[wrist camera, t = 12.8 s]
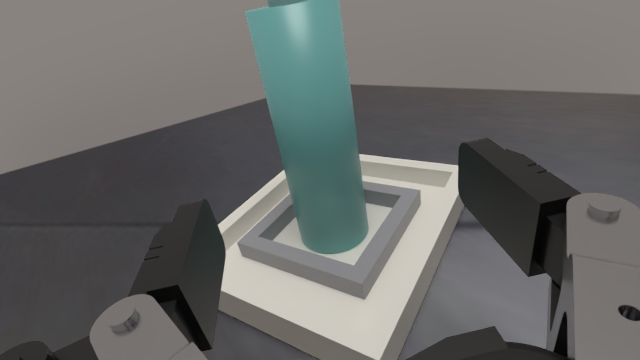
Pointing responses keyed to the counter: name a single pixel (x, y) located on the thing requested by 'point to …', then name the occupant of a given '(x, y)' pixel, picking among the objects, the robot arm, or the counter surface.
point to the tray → (342, 263)
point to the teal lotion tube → (312, 117)
